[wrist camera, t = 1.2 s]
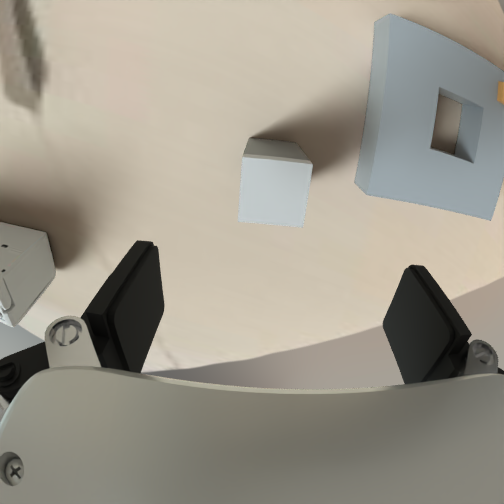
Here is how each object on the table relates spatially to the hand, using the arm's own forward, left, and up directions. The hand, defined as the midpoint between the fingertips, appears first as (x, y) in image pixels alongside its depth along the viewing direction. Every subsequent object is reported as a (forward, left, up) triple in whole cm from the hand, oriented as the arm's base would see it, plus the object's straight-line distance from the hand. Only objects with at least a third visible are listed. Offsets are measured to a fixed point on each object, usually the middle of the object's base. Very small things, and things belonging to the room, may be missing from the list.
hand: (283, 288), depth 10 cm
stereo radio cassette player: (+12, -39, -21) cm, 46 cm away
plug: (0, 0, -20) cm, 20 cm away
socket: (-8, +18, -20) cm, 28 cm away
